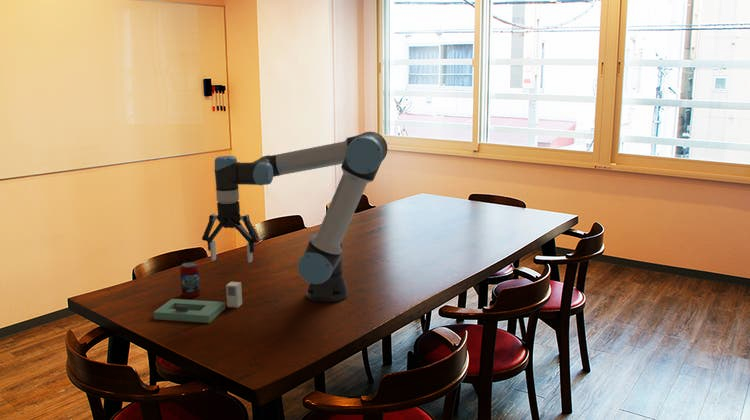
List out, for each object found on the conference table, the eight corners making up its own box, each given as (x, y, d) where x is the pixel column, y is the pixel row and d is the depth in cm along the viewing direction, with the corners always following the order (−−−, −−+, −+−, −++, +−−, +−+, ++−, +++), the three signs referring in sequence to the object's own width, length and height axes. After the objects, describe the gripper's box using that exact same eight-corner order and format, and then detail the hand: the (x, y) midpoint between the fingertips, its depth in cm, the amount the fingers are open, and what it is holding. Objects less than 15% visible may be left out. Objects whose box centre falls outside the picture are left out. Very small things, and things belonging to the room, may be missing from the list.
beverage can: (182, 299, 250) (179, 267, 247) (182, 293, 256) (179, 262, 253) (201, 297, 252) (198, 266, 249) (200, 291, 258) (198, 260, 255)
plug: (242, 303, 245) (241, 282, 243) (237, 308, 241) (236, 286, 239) (231, 302, 246) (230, 281, 244) (226, 307, 241) (225, 285, 240)
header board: (225, 308, 240) (224, 297, 239) (209, 322, 227) (208, 311, 227) (172, 305, 244) (171, 294, 243) (154, 319, 231) (153, 307, 230)
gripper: (266, 199, 236) (269, 258, 241) (199, 198, 241) (203, 255, 246) (258, 204, 229) (262, 265, 234) (189, 202, 234) (194, 262, 238)
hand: (232, 260), depth 240 cm, fingers open, 13 cm apart
